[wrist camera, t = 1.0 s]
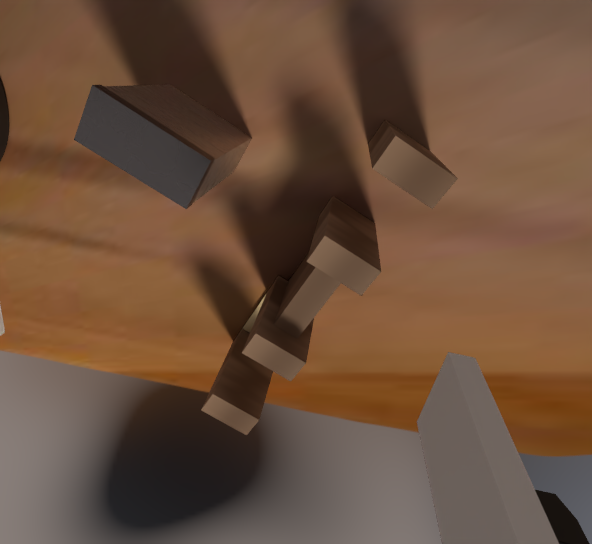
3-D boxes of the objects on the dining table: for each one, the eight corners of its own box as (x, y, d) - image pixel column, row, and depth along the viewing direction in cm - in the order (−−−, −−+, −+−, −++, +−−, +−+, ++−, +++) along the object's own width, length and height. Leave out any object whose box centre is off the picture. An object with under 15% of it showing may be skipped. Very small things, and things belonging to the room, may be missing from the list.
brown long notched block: (233, 341, 39) (201, 410, 31) (384, 119, 29) (395, 135, 21) (268, 362, 40) (246, 435, 32) (430, 151, 30) (457, 178, 22)
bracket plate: (154, 122, 31) (73, 139, 22) (170, 82, 30) (92, 84, 21) (233, 172, 32) (186, 209, 23) (252, 136, 31) (210, 160, 22)
